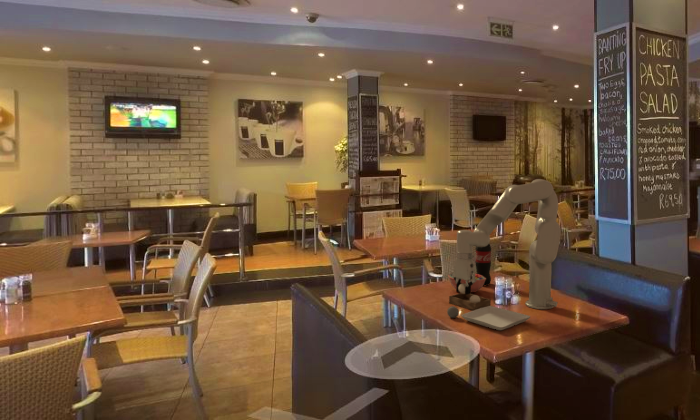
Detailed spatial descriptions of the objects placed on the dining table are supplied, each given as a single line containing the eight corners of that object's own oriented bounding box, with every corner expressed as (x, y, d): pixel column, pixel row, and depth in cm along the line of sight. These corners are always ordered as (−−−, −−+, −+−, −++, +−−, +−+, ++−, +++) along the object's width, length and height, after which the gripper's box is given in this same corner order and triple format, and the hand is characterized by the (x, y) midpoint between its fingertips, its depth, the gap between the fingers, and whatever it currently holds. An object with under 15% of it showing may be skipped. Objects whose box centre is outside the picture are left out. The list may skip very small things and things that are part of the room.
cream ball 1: (463, 295, 233) (464, 285, 233) (456, 293, 237) (456, 283, 237) (470, 293, 236) (471, 283, 236) (463, 291, 240) (463, 281, 240)
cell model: (478, 298, 245) (478, 276, 244) (441, 292, 257) (442, 271, 256) (490, 290, 259) (491, 269, 257) (455, 285, 271) (455, 265, 269)
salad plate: (459, 321, 212) (459, 314, 211) (489, 311, 225) (490, 304, 224) (501, 335, 195) (501, 327, 195) (531, 323, 208) (531, 316, 208)
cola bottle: (475, 286, 268) (476, 232, 265) (474, 282, 276) (475, 229, 273) (491, 286, 266) (492, 232, 263) (489, 282, 275) (490, 229, 272)
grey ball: (461, 317, 216) (461, 306, 215) (453, 320, 213) (453, 309, 212) (452, 315, 220) (452, 304, 219) (444, 317, 217) (444, 306, 216)
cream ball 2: (482, 305, 231) (482, 294, 230) (475, 307, 228) (475, 296, 228) (474, 303, 235) (474, 293, 235) (467, 305, 232) (467, 295, 232)
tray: (490, 306, 231) (490, 299, 231) (474, 311, 225) (475, 303, 224) (464, 299, 244) (464, 292, 244) (449, 303, 238) (449, 296, 237)
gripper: (483, 257, 230) (482, 295, 232) (456, 252, 244) (455, 287, 246) (472, 259, 226) (471, 298, 228) (445, 253, 239) (445, 290, 241)
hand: (463, 292), depth 237 cm, fingers closed on cream ball 1, 4 cm apart
